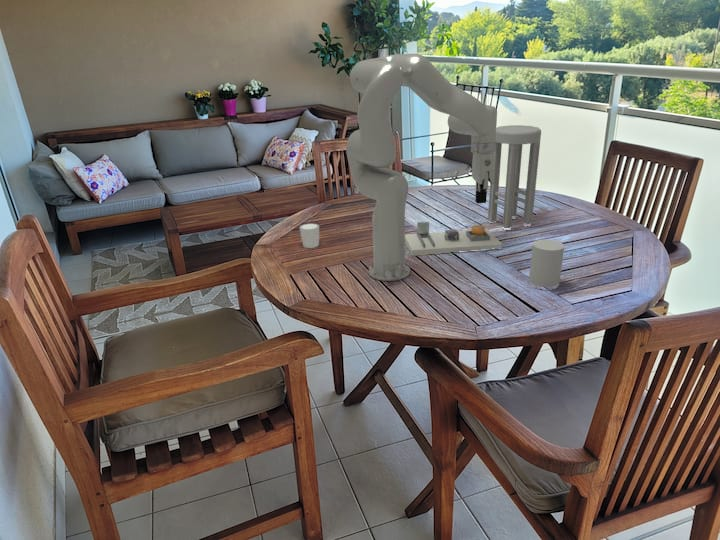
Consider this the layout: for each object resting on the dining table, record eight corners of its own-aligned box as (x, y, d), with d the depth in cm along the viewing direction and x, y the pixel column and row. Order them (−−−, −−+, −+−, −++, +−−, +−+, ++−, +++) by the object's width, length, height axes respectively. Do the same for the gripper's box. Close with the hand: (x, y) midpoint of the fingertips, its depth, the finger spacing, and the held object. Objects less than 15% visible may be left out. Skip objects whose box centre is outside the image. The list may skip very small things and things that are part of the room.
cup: (552, 277, 150) (557, 238, 145) (563, 289, 143) (569, 249, 138) (524, 278, 150) (528, 240, 145) (534, 291, 143) (538, 251, 138)
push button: (486, 234, 174) (486, 229, 173) (473, 235, 174) (473, 230, 173) (482, 230, 178) (482, 225, 177) (469, 231, 178) (470, 225, 177)
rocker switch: (458, 237, 173) (458, 231, 173) (449, 238, 173) (449, 232, 172) (454, 235, 178) (454, 229, 178) (445, 235, 178) (445, 229, 178)
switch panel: (501, 249, 171) (502, 239, 169) (411, 256, 169) (411, 245, 168) (487, 234, 185) (488, 224, 183) (404, 239, 183) (404, 229, 181)
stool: (504, 234, 184) (512, 133, 170) (479, 221, 198) (485, 127, 183) (540, 227, 189) (550, 129, 175) (513, 215, 203) (521, 123, 188)
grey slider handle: (429, 237, 178) (429, 223, 176) (418, 238, 178) (418, 224, 176) (427, 234, 181) (428, 220, 179) (416, 235, 181) (416, 221, 179)
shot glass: (297, 247, 181) (295, 228, 178) (308, 240, 186) (306, 222, 183) (313, 249, 178) (312, 230, 175) (324, 243, 183) (323, 224, 180)
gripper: (502, 150, 158) (499, 208, 165) (487, 141, 171) (485, 195, 179) (478, 152, 157) (476, 210, 165) (465, 143, 171) (463, 196, 179)
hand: (480, 202), depth 172 cm, fingers closed
